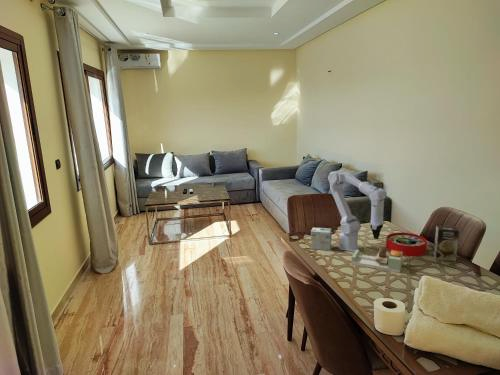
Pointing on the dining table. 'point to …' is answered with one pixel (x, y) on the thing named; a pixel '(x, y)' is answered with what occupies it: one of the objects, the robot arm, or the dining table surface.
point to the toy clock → (406, 244)
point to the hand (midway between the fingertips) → (376, 238)
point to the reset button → (395, 253)
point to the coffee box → (446, 243)
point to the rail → (369, 261)
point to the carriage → (382, 255)
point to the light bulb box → (321, 238)
